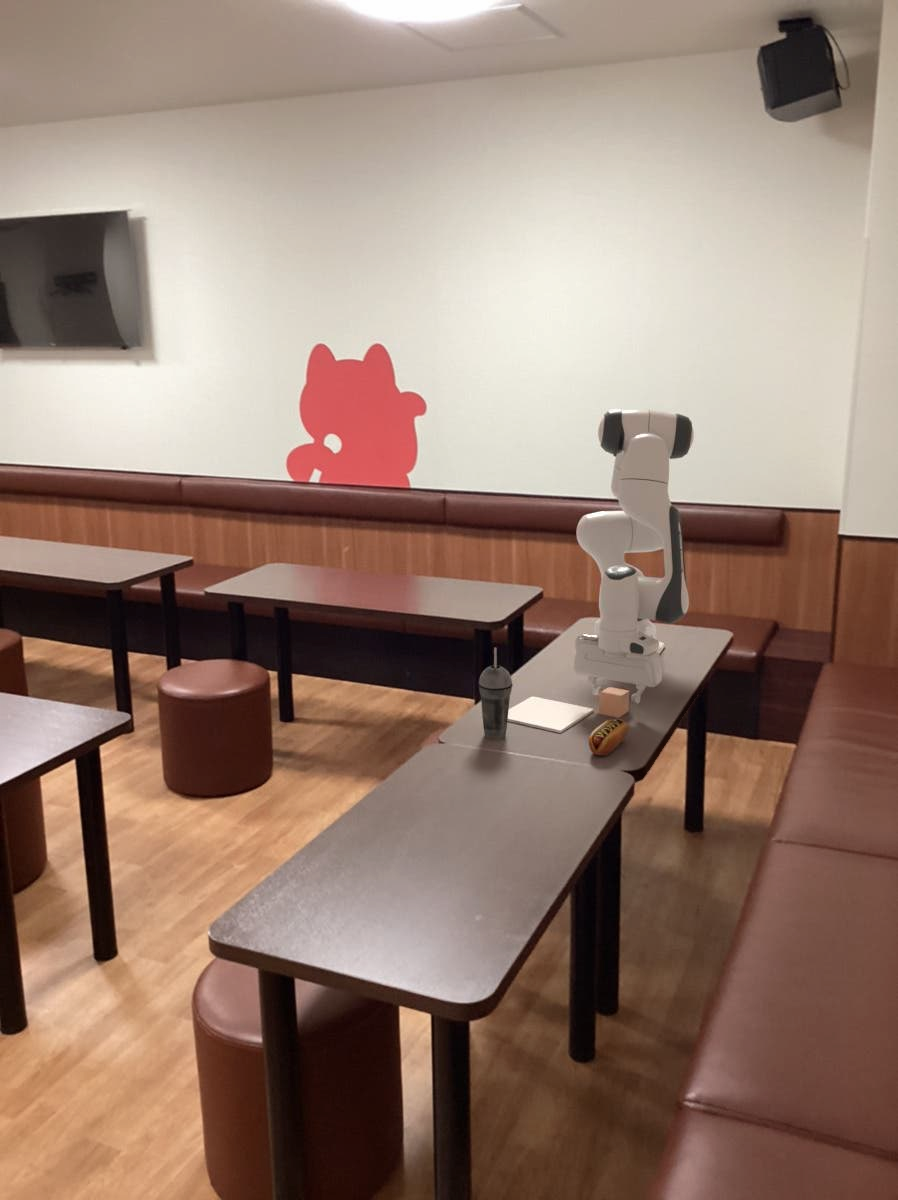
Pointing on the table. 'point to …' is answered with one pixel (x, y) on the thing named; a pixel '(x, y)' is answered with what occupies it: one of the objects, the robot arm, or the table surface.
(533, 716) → the mat
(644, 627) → the robot arm
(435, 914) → the table surface
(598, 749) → the hot dog
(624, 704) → the cube
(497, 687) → the beverage cup
